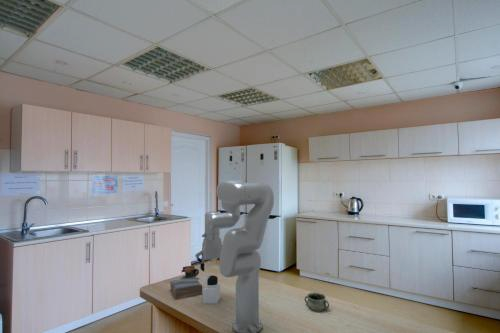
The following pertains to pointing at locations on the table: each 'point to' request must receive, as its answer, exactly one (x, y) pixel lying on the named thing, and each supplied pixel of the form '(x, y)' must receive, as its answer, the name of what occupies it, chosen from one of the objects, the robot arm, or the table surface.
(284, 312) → the table surface
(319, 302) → the vessel
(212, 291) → the medicine bottle
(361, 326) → the table surface
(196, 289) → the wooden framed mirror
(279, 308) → the table surface
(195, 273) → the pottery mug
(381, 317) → the table surface
